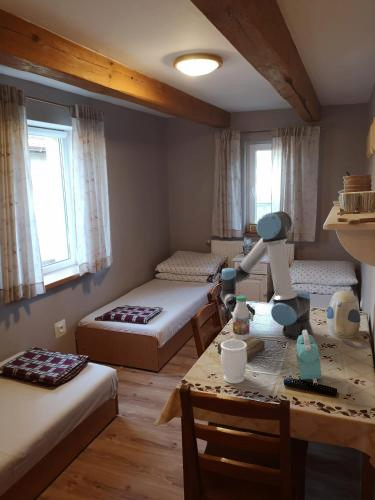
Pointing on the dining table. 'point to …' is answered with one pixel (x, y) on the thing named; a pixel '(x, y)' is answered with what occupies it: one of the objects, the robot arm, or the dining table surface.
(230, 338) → the walnut stand
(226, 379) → the jar
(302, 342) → the alarm clock
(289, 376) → the dining table surface
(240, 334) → the milk bottle
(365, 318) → the dining table surface
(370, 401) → the dining table surface
